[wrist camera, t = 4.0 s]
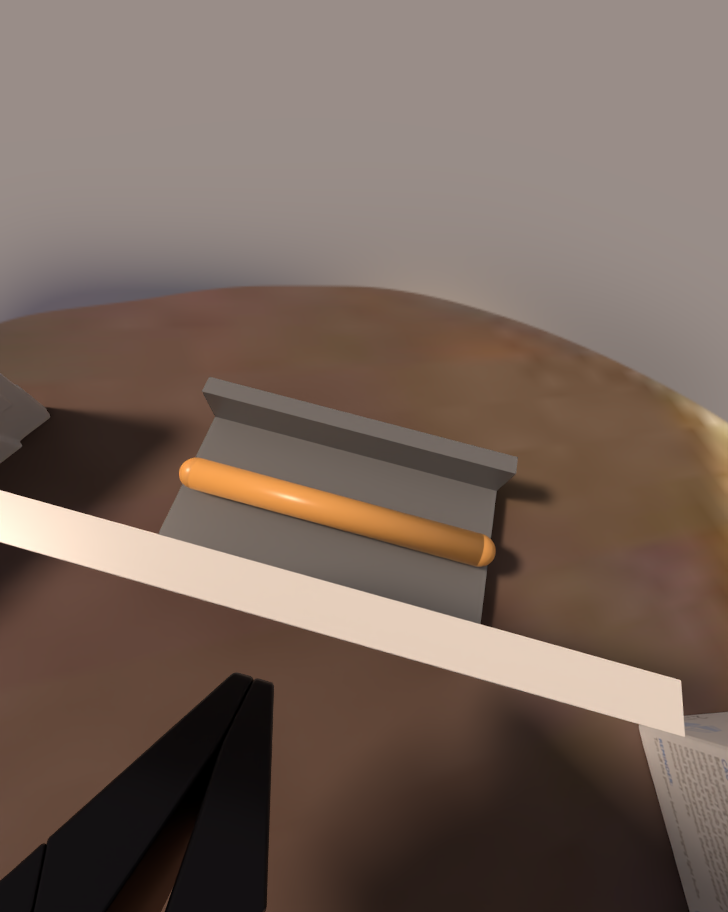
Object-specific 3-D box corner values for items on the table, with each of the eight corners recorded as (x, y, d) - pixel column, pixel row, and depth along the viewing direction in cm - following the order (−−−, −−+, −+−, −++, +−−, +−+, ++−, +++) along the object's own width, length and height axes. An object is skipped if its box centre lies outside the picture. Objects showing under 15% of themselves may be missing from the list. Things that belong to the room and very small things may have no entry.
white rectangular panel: (498, 658, 14) (495, 684, 14) (117, 550, 14) (105, 573, 14) (680, 680, 7) (685, 737, 6) (-102, 462, 7) (-136, 502, 7)
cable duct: (470, 654, 17) (497, 658, 14) (152, 565, 17) (118, 551, 15) (492, 481, 20) (517, 457, 17) (225, 411, 21) (209, 376, 18)
